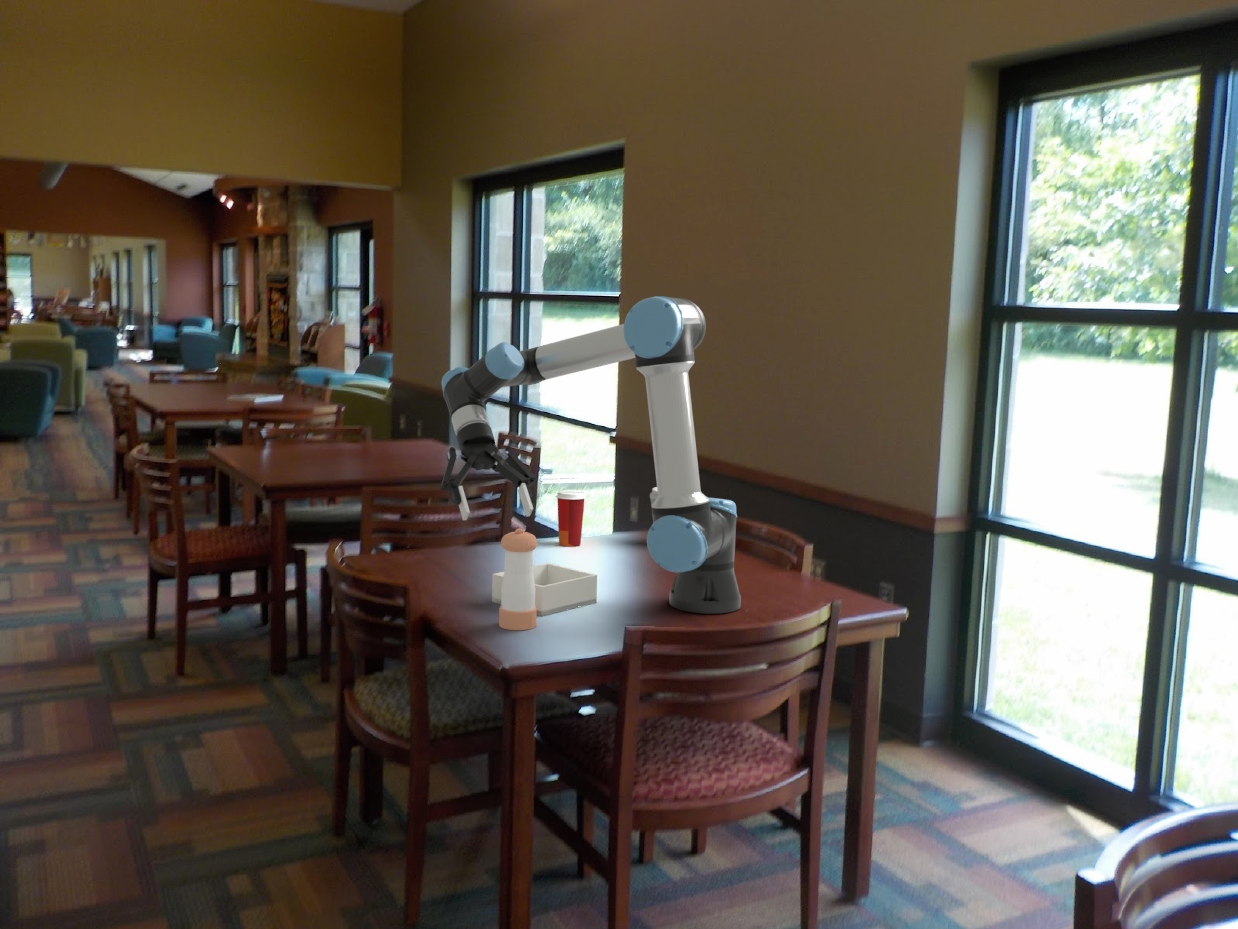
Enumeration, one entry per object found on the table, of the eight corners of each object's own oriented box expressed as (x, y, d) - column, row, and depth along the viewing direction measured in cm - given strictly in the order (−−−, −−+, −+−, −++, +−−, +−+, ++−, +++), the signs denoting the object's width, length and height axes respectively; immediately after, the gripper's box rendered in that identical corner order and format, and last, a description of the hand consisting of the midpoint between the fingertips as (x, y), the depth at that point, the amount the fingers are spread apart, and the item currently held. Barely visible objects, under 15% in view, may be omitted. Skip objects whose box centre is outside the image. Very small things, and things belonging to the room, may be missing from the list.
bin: (596, 602, 239) (597, 575, 239) (541, 616, 228) (542, 587, 227) (546, 589, 249) (547, 562, 249) (492, 601, 238) (492, 574, 237)
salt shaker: (534, 631, 217) (536, 533, 214) (496, 629, 217) (498, 531, 215) (538, 621, 224) (540, 525, 222) (501, 619, 224) (503, 524, 222)
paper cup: (586, 542, 301) (587, 490, 299) (582, 548, 293) (583, 495, 292) (557, 540, 302) (558, 489, 300) (552, 546, 294) (553, 493, 292)
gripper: (523, 441, 247) (549, 521, 236) (412, 444, 235) (434, 528, 224) (533, 419, 242) (560, 500, 231) (420, 421, 230) (443, 506, 219)
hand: (498, 514), depth 227 cm, fingers open, 13 cm apart
